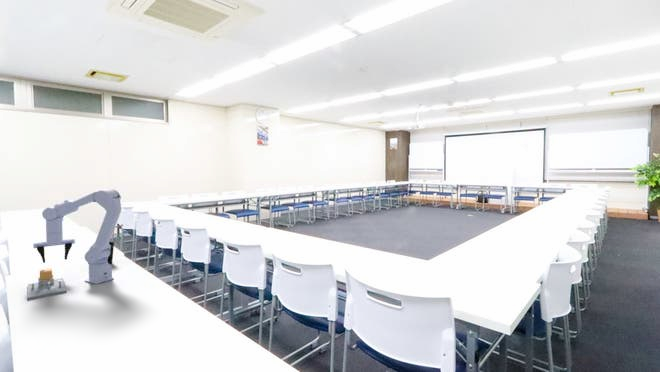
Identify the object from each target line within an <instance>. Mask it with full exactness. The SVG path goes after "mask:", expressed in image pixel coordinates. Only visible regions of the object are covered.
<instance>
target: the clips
mask: <svg viewBox="0 0 660 372" xmlns="http://www.w3.org/2000/svg"><path fill="white" fill-rule="evenodd" d="M34 283H35V282H31V284H32V289H34ZM43 286H44V287H46V281H45V280H44V281H43ZM60 286H61V280H59V287H60ZM49 288H50V282H48V289H49Z"/></svg>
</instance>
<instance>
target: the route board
mask: <svg viewBox="0 0 660 372" xmlns="http://www.w3.org/2000/svg"><path fill="white" fill-rule="evenodd" d="M59 280H61V286H60V287H59ZM67 292H68V291H67V288H66V284H65V280H64V278H63V277H60V278H56V279H55V278H54V284H51V285H50V288H49V289H48V285H46V287H44V286H40V287H39V281H38V282H34V289H32V283H28V284H27V300H28V299H31V300H35V299H34V298H36V299H40V298H39V297H41V298H46V297H50V296H56V295H61V294H66V293H67Z"/></svg>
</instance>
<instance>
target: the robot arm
mask: <svg viewBox="0 0 660 372" xmlns="http://www.w3.org/2000/svg"><path fill="white" fill-rule="evenodd" d="M121 199H122V196H121V194H120V192H118V190H116V189H108V190H98V191H94V192H92V193H89V194H87V195H84V196H83V197H81V198H78V199H76V200H72V199H66V200H64V201H63V202H62V203H60V204H54V206H52V207H45V209H44V210H42V214H41V215H42V217H43V219H44V220H45V231H46V232H45V233H46V241H42V242H33V243H32V244H33V245H32V246H33V248H32V249H36V250H37V252H38V253H39V255H40V258H41V259H42V263H44V264H45V263H46V258H45V248H46V247H55V246H62V245H63V246H64V260H67V259H68V255H69V252H70V250H71V248H72V247H73V245H74V244H75V243H76V241H75V238H73V239H63V235H64V234H63V221H64V217H65V216H67V215H70V214H72V213H74V212H75V213H76V212H77V211H78V210H79V207H82V206H85V205H88V204H90V203H97V204H98V205H99V206H100V207H102V208H103V209H104V210H105V211H106V212H105V215H104V218H103V221H102V223H101V226H100V228H99V231H98V234H97V236H96V239H95V242H94V243H93V244H92V245H91V246H90V247H89V249H88V250H87V252H85V253H84V260H85V261H86V263H87V264H88V279H85V280H84V282H86V283H91V284H95V285H99V284H102V283H105V282H107V281H112V280H114V279H115V278H114V277H113V267H112V264H109V263H108V262H107V260H108V257H109V256H110V247H111V245H110V244H109V242H111V239H112V236H113V234H114V231H115V228H116V225H117V224H118V220H119V218H120V215H121V213H122V203H121Z"/></svg>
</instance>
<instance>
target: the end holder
mask: <svg viewBox="0 0 660 372" xmlns="http://www.w3.org/2000/svg"><path fill="white" fill-rule="evenodd" d="M54 280H55V278H54V275H53V274H52V279H46V280H45V281H46V285H48V282H50V285H51V284H54ZM43 281H44V280H40V276H38V282H39V287H40V286H43Z"/></svg>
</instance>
